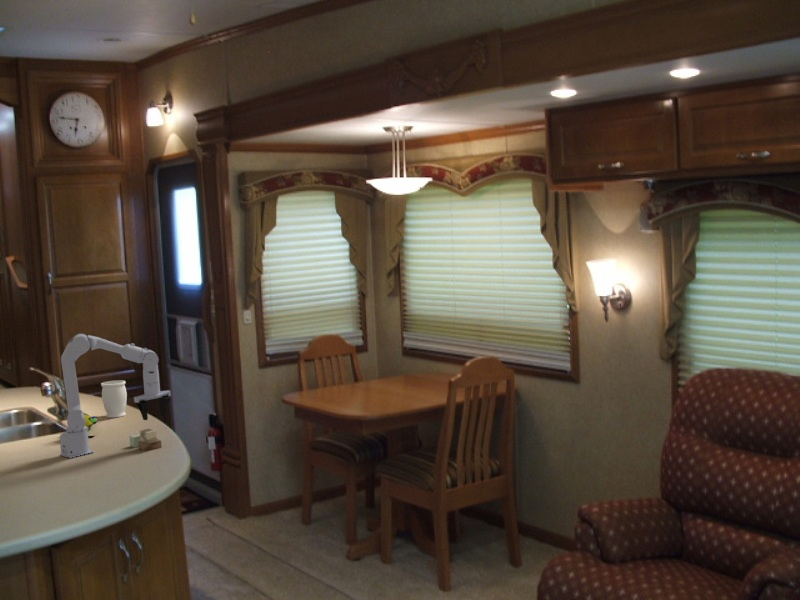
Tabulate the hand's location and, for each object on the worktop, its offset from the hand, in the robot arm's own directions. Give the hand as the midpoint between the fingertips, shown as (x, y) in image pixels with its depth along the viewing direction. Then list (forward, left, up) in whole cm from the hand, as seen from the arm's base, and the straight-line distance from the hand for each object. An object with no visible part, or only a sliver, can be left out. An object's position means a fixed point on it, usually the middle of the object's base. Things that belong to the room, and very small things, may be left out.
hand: (154, 417), depth 342 cm
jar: (+16, +60, -10) cm, 63 cm away
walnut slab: (-5, -4, -10) cm, 12 cm away
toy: (-6, +44, -10) cm, 46 cm away
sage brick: (-5, +3, -10) cm, 12 cm away
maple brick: (-5, -4, -7) cm, 10 cm away
